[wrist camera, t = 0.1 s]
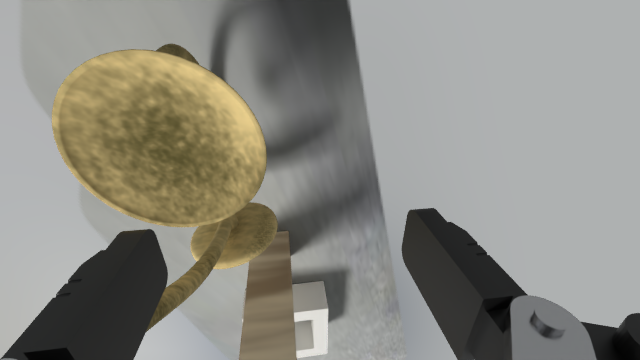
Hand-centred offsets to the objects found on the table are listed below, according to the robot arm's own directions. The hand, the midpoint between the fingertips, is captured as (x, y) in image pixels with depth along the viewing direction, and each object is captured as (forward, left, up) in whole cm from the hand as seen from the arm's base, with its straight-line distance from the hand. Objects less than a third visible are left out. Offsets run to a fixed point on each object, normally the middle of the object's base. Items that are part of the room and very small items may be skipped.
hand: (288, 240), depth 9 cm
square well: (+29, -1, -17) cm, 33 cm away
